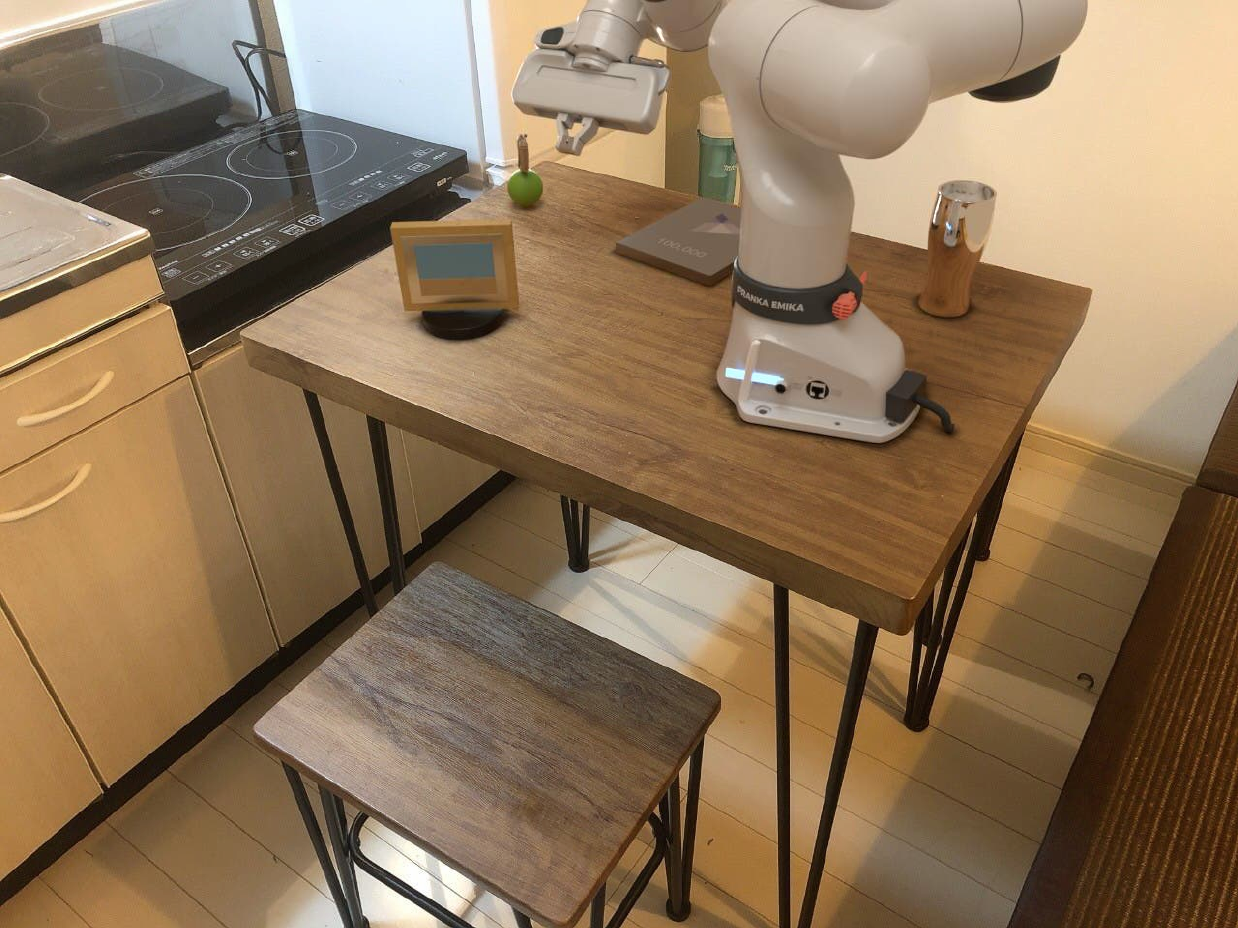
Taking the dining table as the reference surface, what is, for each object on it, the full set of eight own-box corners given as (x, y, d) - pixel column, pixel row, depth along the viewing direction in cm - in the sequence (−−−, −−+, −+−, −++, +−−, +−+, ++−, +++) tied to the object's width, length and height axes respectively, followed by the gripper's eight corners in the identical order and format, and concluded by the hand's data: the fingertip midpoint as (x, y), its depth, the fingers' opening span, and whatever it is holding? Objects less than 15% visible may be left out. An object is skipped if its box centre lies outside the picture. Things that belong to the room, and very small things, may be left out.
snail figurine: (511, 216, 145) (504, 136, 138) (506, 199, 150) (499, 121, 143) (547, 212, 146) (542, 133, 138) (541, 195, 151) (536, 118, 143)
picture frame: (519, 302, 120) (511, 218, 114) (518, 309, 119) (510, 225, 112) (406, 305, 120) (392, 222, 113) (404, 312, 119) (389, 228, 112)
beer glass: (981, 303, 121) (1008, 188, 112) (957, 325, 117) (983, 208, 108) (929, 287, 125) (952, 174, 116) (904, 308, 121) (925, 193, 112)
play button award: (615, 242, 134) (702, 197, 146) (616, 252, 135) (702, 206, 146) (710, 276, 125) (794, 225, 137) (709, 286, 126) (793, 235, 138)
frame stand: (519, 310, 122) (518, 300, 121) (473, 347, 115) (472, 336, 114) (455, 293, 126) (453, 283, 125) (407, 328, 119) (405, 317, 118)
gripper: (682, 76, 123) (647, 177, 122) (546, 57, 131) (512, 151, 130) (667, 48, 117) (630, 154, 116) (525, 29, 125) (490, 129, 124)
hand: (567, 152), depth 123 cm, fingers closed
